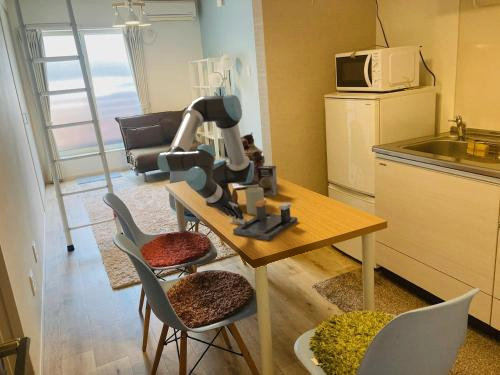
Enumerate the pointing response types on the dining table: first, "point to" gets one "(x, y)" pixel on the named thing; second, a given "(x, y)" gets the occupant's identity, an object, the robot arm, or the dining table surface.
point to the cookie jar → (254, 156)
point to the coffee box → (267, 180)
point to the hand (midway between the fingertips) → (243, 221)
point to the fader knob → (261, 209)
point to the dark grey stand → (267, 224)
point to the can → (253, 198)
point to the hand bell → (235, 198)
